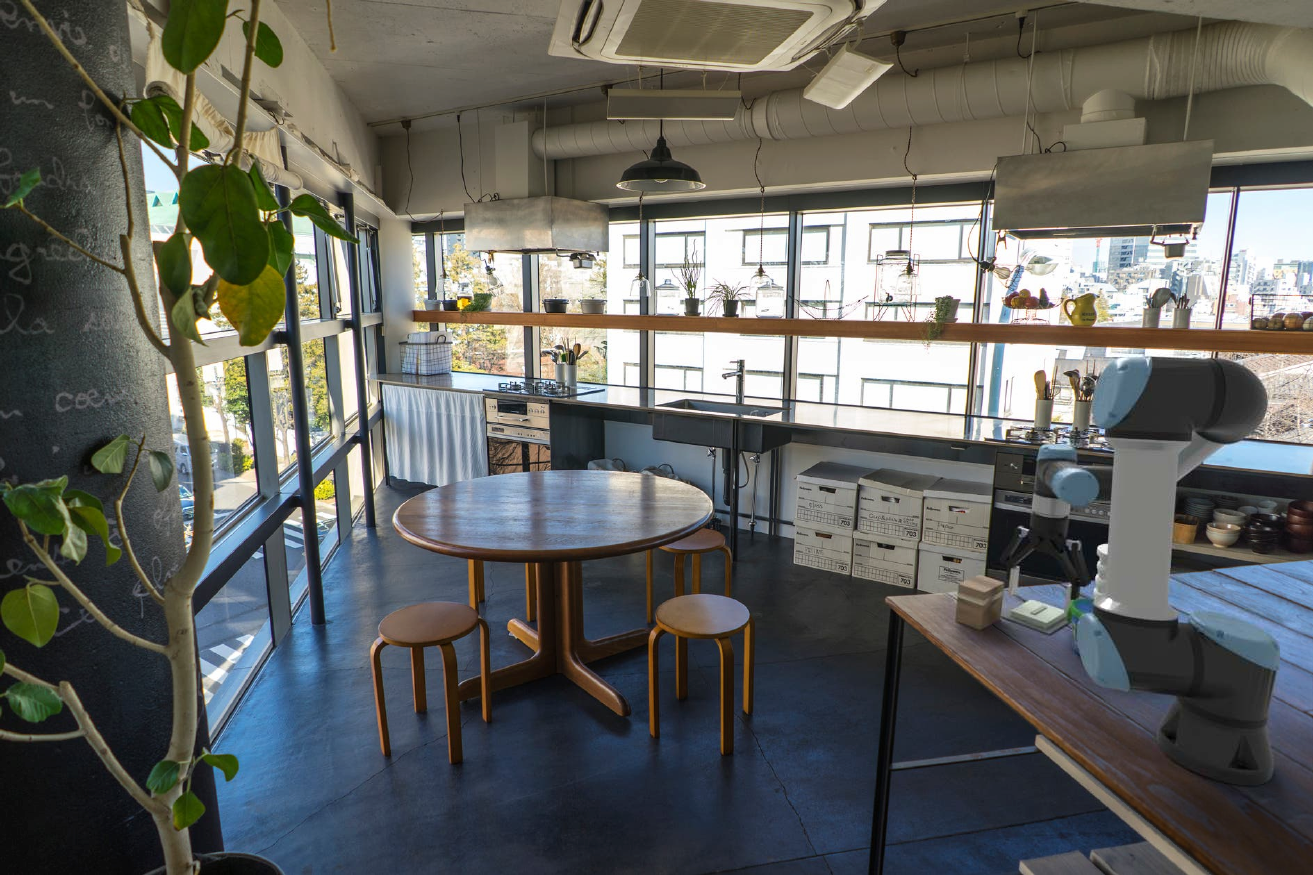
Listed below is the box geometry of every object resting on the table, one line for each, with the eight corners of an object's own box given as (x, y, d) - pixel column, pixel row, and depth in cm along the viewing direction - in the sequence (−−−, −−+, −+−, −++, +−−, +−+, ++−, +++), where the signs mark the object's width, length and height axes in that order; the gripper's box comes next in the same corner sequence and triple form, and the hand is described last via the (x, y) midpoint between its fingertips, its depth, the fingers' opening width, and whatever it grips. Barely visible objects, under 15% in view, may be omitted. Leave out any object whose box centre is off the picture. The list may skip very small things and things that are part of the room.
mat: (1049, 634, 158) (1049, 633, 158) (1000, 617, 167) (1000, 615, 167) (1075, 618, 166) (1075, 617, 166) (1027, 602, 175) (1027, 601, 175)
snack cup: (1143, 673, 143) (1150, 626, 141) (1090, 673, 143) (1097, 626, 141) (1096, 636, 158) (1102, 593, 156) (1048, 636, 158) (1053, 592, 156)
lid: (1045, 628, 160) (1046, 621, 160) (1010, 616, 167) (1011, 609, 166) (1065, 616, 167) (1066, 609, 166) (1030, 604, 173) (1031, 598, 172)
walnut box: (980, 630, 160) (984, 592, 159) (954, 620, 165) (958, 583, 163) (1000, 619, 166) (1004, 582, 164) (975, 609, 171) (979, 574, 169)
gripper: (1116, 523, 154) (1103, 616, 159) (1005, 497, 173) (996, 582, 177) (1102, 530, 150) (1089, 626, 154) (989, 503, 169) (980, 589, 173)
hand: (1039, 602), depth 166 cm, fingers open, 12 cm apart
